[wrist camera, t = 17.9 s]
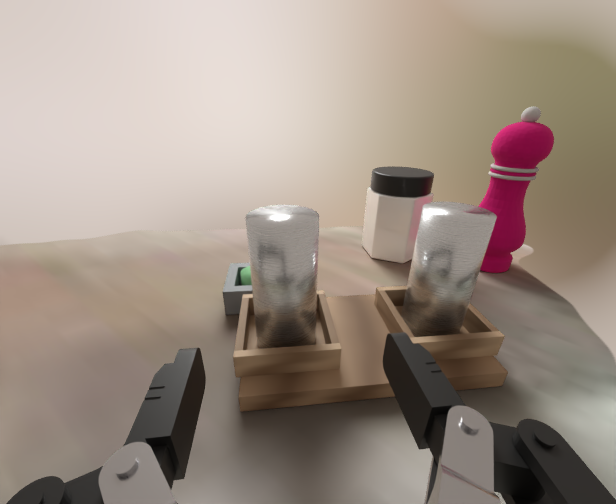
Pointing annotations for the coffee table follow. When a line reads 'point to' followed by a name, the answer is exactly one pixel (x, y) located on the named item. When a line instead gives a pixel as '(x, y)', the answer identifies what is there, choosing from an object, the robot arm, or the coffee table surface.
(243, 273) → the button
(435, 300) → the seated billet
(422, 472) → the coffee table surface
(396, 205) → the jar
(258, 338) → the cylinder
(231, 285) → the grey square box
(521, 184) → the pepper mill
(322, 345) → the wooden tray
